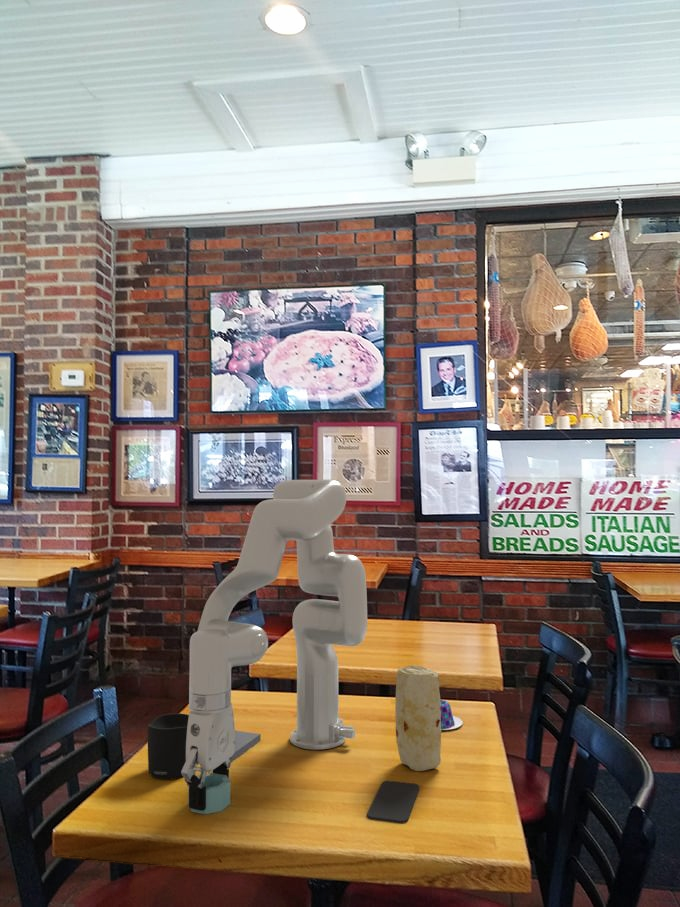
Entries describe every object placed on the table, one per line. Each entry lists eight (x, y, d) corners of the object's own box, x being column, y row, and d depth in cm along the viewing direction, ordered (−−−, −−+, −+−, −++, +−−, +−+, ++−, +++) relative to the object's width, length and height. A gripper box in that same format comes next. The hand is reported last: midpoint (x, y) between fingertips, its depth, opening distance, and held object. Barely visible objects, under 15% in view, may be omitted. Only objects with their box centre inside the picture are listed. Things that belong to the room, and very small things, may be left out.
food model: (445, 764, 139) (444, 666, 140) (436, 776, 133) (435, 674, 134) (400, 756, 143) (400, 661, 144) (389, 768, 137) (389, 668, 138)
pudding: (412, 731, 159) (412, 709, 159) (414, 715, 171) (413, 694, 171) (463, 734, 157) (463, 711, 157) (461, 717, 169) (461, 696, 169)
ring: (236, 799, 123) (236, 776, 124) (215, 816, 117) (215, 792, 117) (203, 793, 126) (203, 771, 126) (181, 809, 119) (181, 786, 120)
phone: (364, 816, 116) (382, 779, 130) (364, 821, 116) (382, 784, 130) (407, 821, 114) (420, 784, 128) (407, 826, 114) (420, 788, 128)
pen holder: (138, 770, 136) (139, 720, 137) (181, 758, 142) (181, 710, 143) (158, 785, 129) (159, 732, 130) (202, 772, 135) (203, 721, 136)
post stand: (260, 740, 152) (260, 704, 153) (228, 764, 139) (229, 724, 140) (207, 733, 157) (207, 698, 158) (172, 754, 144) (172, 716, 145)
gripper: (201, 716, 113) (200, 825, 112) (251, 688, 129) (250, 783, 128) (164, 711, 116) (162, 817, 115) (217, 684, 132) (216, 777, 131)
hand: (209, 798), depth 121 cm, fingers closed on ring, 7 cm apart
